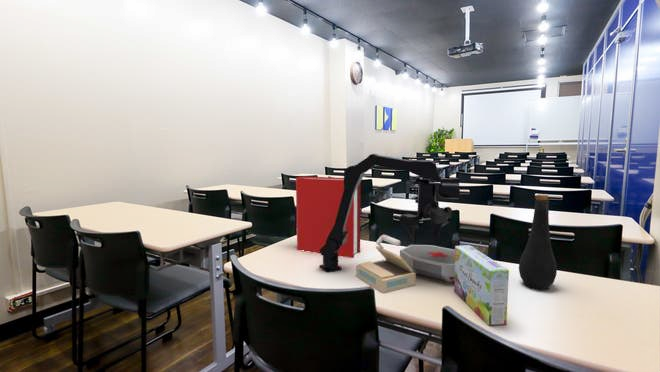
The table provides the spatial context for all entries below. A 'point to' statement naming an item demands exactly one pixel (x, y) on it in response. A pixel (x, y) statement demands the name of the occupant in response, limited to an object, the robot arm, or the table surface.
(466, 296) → the snack box
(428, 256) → the first aid kit
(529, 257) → the bottle
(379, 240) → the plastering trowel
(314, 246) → the book
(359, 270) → the carton
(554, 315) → the table surface
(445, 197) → the robot arm
